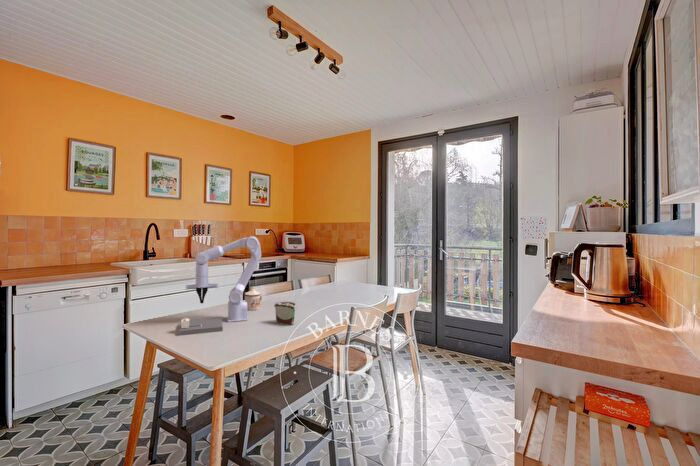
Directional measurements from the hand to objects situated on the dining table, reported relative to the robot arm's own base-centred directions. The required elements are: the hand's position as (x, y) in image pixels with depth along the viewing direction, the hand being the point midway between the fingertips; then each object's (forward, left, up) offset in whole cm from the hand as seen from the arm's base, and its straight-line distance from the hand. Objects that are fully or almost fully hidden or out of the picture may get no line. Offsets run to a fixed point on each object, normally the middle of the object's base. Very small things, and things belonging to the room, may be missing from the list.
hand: (201, 302), depth 167 cm
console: (0, +11, -9) cm, 14 cm away
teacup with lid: (-28, -18, -10) cm, 35 cm away
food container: (-40, +16, -10) cm, 44 cm away
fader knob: (+7, +14, -7) cm, 17 cm away
